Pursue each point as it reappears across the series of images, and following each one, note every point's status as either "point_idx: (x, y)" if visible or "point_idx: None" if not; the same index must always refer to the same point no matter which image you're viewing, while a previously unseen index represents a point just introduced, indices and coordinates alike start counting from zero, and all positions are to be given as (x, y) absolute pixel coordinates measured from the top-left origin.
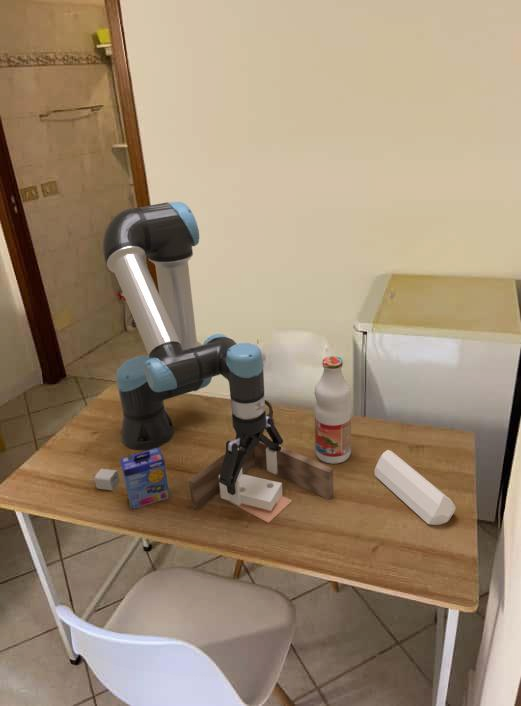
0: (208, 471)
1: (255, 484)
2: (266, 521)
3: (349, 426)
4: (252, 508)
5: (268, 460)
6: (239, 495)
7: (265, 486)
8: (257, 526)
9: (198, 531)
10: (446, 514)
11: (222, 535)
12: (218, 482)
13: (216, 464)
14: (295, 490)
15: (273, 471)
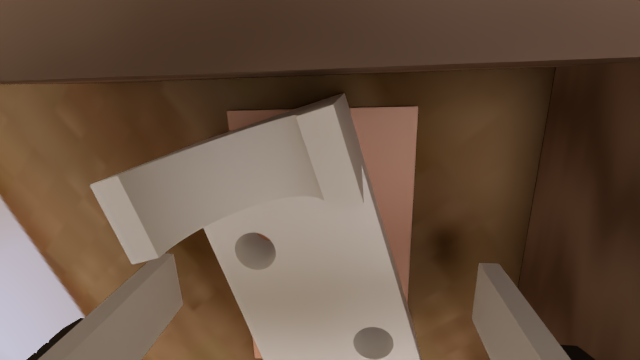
0: (46, 67)
1: (332, 283)
2: (254, 349)
3: None
4: None
5: (515, 344)
6: (144, 349)
7: (352, 331)
8: (220, 332)
9: (45, 182)
10: None
11: (104, 265)
12: (222, 77)
13: (159, 50)
14: (471, 341)
15: (479, 318)
